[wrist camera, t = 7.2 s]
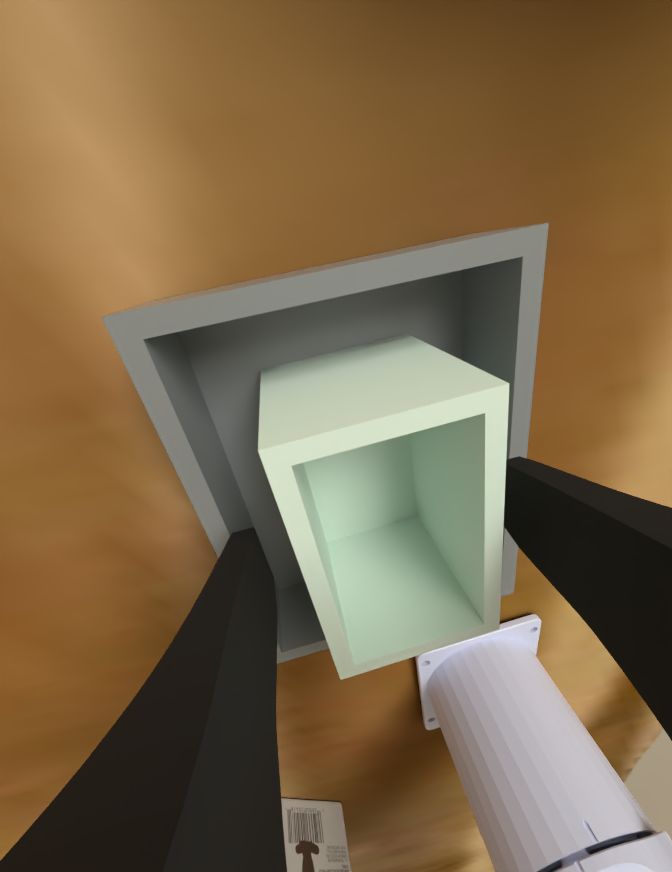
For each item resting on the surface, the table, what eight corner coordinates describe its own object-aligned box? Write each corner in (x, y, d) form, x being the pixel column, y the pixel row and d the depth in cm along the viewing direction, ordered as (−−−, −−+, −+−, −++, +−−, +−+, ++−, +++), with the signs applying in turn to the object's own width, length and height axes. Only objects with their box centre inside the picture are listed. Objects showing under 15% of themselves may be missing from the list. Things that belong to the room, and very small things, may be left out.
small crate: (425, 513, 15) (499, 629, 10) (316, 545, 15) (340, 680, 10) (406, 333, 12) (509, 383, 7) (260, 370, 11) (257, 450, 6)
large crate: (469, 534, 17) (513, 592, 14) (269, 591, 16) (270, 666, 13) (469, 234, 11) (548, 222, 8) (150, 301, 10) (101, 317, 7)
